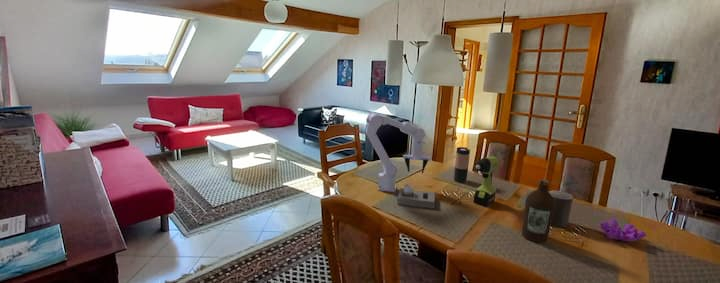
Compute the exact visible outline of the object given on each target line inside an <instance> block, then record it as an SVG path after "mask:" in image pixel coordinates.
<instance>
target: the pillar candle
mask: <svg viewBox="0 0 720 283" xmlns="http://www.w3.org/2000/svg"><path fill="white" fill-rule="evenodd" d="M548 192H549V193H550V194H551V196H552V197H553V198H554V200H555V211H554V214H553V218H552V222H551V226H552V227H555V228H561V229H562V228H567V227H568V225H569V220H570V219H569V218H570V214H571V210H572V206H573V200H574V196H573V195H572V194H570V193H567V192H565V191H560V190H550V191H549V190H548ZM551 226H550V227H551Z"/></svg>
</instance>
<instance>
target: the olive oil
mask: <svg viewBox="0 0 720 283" xmlns="http://www.w3.org/2000/svg"><path fill="white" fill-rule="evenodd" d="M549 183H550V182H549V180H547V179H539V182H538V185H537V186H538V187H537V189H535V190H533V191H532V192H530V193H529V194H527V196H526V198H525V204H524V214H523V222H522V227H521V228H522V230H521V236H522V237H523V238H524V237H525V239H526V240H528V241H530V242H533V243H537V242H538V243H537V244H541V243H545V242H547V241H548V237H549V234H550V229H551V222H552V218H553V214H554V211H555V200H554V198H553V197H552V196H551V194H550V193H549Z"/></svg>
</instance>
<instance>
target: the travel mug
mask: <svg viewBox="0 0 720 283" xmlns="http://www.w3.org/2000/svg"><path fill="white" fill-rule="evenodd" d="M470 154H471V149H468V147H463V146H462V147H460V146H459V147H456V153H455V160H454V175H453V180H454V182H456V183H459V184H464V183H465V184H466V182H467V178H468V171H469V166H470V165H469V164H470V163H469V162H470V156H471V155H470Z"/></svg>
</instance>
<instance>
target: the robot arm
mask: <svg viewBox="0 0 720 283" xmlns="http://www.w3.org/2000/svg"><path fill="white" fill-rule="evenodd" d="M365 120H366V122H365V123H366V124H365V125H366V126H365V134H366V136H367V138H368V140H369V141H370V144H371V145H372V147H373V149H374V150H375V153H376V154H377V156H378V157H379V159H380V162H381V166H382V169H383V171H382V172H379V173H378V180H377V182H378V183H377V191H381V192H382V191H383V192H389V193H390V192H392V193H395V192H396V190H397V185H396V177H397V175H396V174H397V172H398V168H397V166H396V165H395V164H394V163H393V161H392V160H391V159H390V157H389V155H388V153H387V151H386V150H385V148H384V146H383V144H382V142H381V141H380V139H379V137H378V135H377V132H378V129H379V128H380V127H381V125H382V126H385V125H389V126H393V127H395V128H398V129H399V130H400V132H402V133H404V134H406V135H409V136H412V141H411V142H412V143H411V154H402V157H403V158H402V159H403V160H404V163H405V164H406V168H407V172H408V173H409V172H410V163H411V162H410V161H411V160H414V161H422V169H421V174H424V171H425V169H426V166H427V164H428V162H430V161H431V157H430V156H425V155H423V145H424V138H425V136H426V133H425V130H424V129H423V128H422V127H420V126H418V125H417V124H412V123H411V122H410V121H403V122H400V121H398V120H397V119H394V118H392V117H390V116H387V115H385V114H382V113H377V112H375V111H373V112H370V113H369V114H368V115H367V118H366V119H365Z"/></svg>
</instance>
